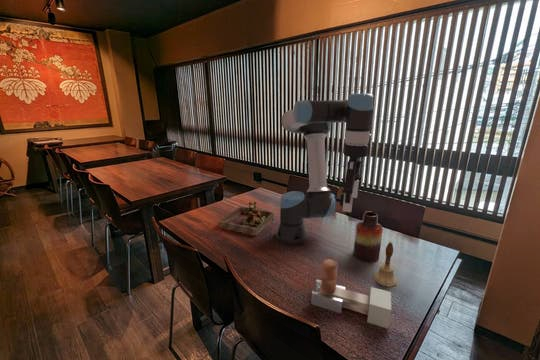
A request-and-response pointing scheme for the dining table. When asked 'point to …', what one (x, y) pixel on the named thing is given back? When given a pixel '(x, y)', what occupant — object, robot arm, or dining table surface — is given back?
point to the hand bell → (386, 270)
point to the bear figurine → (253, 216)
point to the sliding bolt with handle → (349, 297)
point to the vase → (368, 238)
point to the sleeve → (326, 299)
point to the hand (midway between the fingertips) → (350, 203)
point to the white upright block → (379, 308)
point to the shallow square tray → (249, 230)
